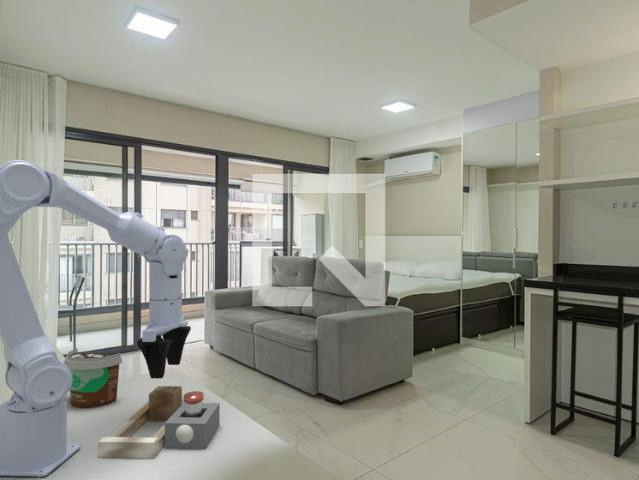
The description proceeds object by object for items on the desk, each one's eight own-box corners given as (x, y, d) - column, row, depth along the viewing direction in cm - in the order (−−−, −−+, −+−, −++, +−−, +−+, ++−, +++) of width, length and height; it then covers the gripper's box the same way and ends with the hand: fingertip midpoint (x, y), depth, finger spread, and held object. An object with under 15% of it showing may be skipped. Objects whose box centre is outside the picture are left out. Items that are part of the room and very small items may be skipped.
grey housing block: (164, 448, 64) (164, 423, 64) (183, 425, 72) (183, 402, 72) (204, 449, 64) (204, 424, 64) (219, 425, 72) (219, 403, 72)
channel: (98, 457, 61) (98, 441, 61) (151, 408, 79) (151, 395, 79) (153, 458, 61) (153, 442, 61) (194, 408, 79) (194, 396, 79)
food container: (48, 406, 80) (48, 356, 80) (75, 395, 86) (75, 348, 86) (97, 414, 77) (97, 361, 77) (122, 401, 82) (122, 353, 82)
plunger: (180, 427, 66) (180, 398, 66) (187, 418, 70) (187, 391, 70) (199, 427, 66) (199, 398, 66) (206, 419, 69) (206, 391, 69)
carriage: (148, 421, 74) (148, 392, 74) (158, 411, 78) (158, 384, 78) (173, 421, 74) (173, 392, 74) (181, 412, 78) (181, 384, 78)
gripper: (171, 304, 68) (171, 384, 68) (199, 293, 83) (199, 359, 83) (130, 304, 69) (130, 384, 69) (165, 293, 83) (166, 359, 83)
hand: (165, 370), depth 76 cm, fingers open, 7 cm apart
